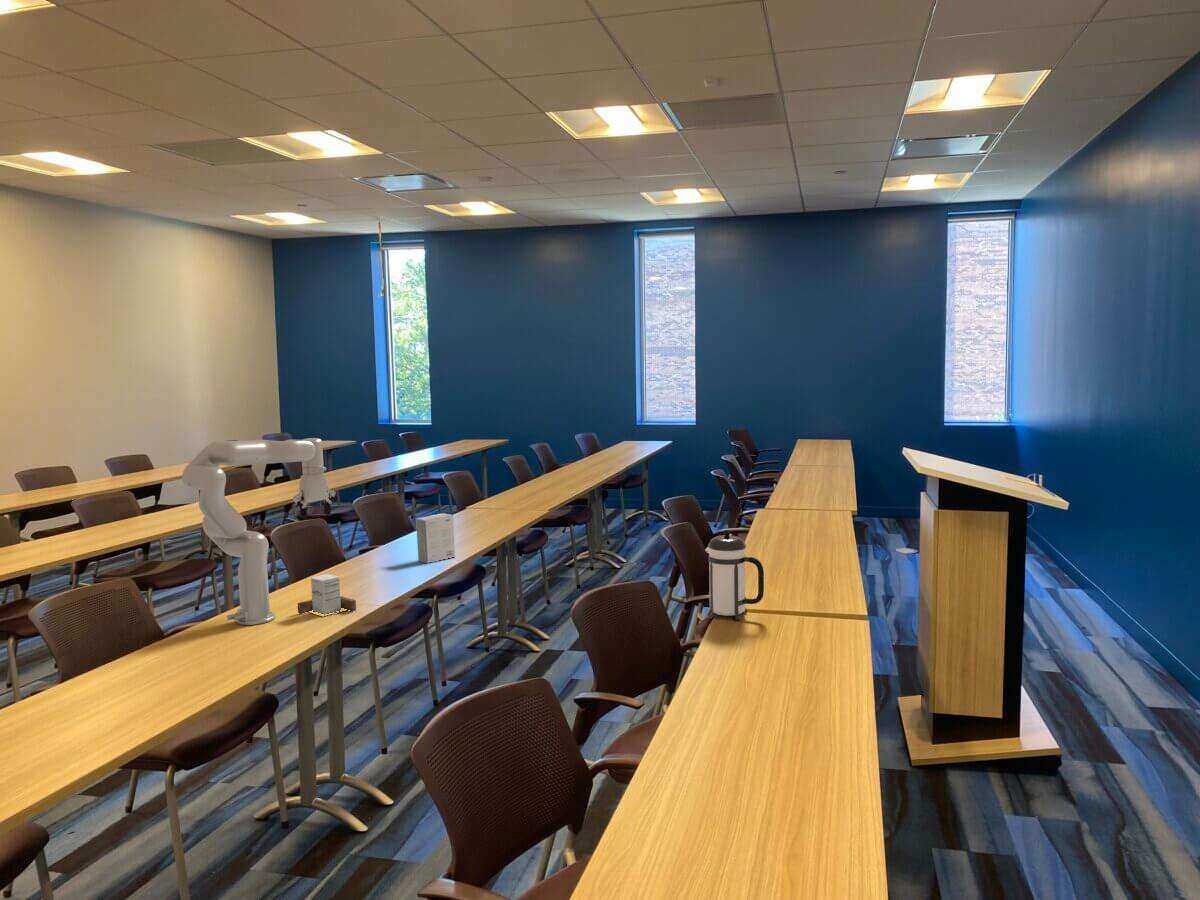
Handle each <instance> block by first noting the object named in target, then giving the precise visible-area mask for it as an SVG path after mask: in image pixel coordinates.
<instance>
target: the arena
mask: <svg viewBox="0 0 1200 900" xmlns="http://www.w3.org/2000/svg"><path fill="white" fill-rule="evenodd" d="M340 600H341V608H344V609H347V610H350V611H349V612H351V611H355V610H356V611H357V600H355V599H353V598H348V597H346V596H341V595H340ZM312 610H313V606H312V598H311V599H308V600H304V601H299V602H297V614H298V613H299V614H298V615H300V614H301V615H303V614H302V613H304V614H306V613H305V612H309V611H312ZM356 611H355V612H356ZM339 612H340V611H339ZM334 613H337V612H334Z"/></svg>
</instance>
